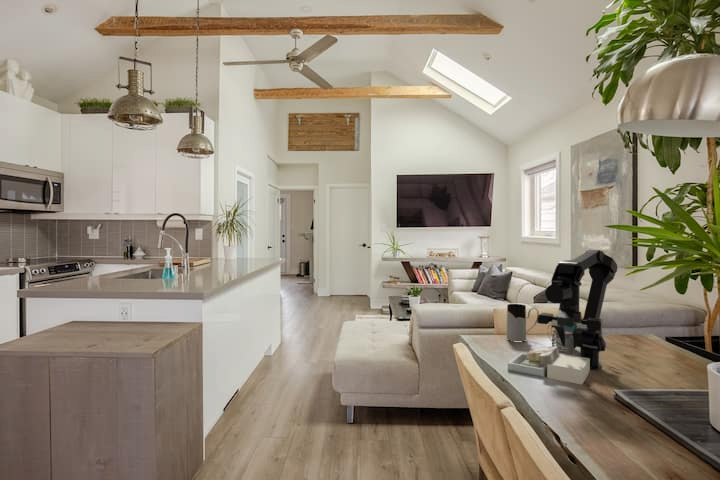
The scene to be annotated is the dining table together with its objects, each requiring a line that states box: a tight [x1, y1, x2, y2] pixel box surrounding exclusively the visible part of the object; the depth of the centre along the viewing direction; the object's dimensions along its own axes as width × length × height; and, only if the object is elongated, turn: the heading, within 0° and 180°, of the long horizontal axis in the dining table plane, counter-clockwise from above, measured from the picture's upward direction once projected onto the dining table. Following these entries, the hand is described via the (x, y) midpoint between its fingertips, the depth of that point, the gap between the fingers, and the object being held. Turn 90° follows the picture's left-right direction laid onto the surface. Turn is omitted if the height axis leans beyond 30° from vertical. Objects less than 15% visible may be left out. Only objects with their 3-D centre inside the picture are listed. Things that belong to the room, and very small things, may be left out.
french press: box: [547, 322, 576, 356], centre depth 157 cm, size 10×12×25 cm
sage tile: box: [522, 360, 539, 368], centre depth 141 cm, size 4×4×2 cm
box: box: [507, 352, 547, 378], centre depth 145 cm, size 15×12×2 cm
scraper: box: [526, 345, 559, 364], centre depth 143 cm, size 14×2×8 cm
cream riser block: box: [546, 354, 591, 386], centre depth 138 cm, size 15×10×4 cm, turn 144°
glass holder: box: [505, 303, 540, 341], centre depth 183 cm, size 9×14×15 cm, turn 93°
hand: (569, 347), depth 138 cm, fingers open, 3 cm apart
